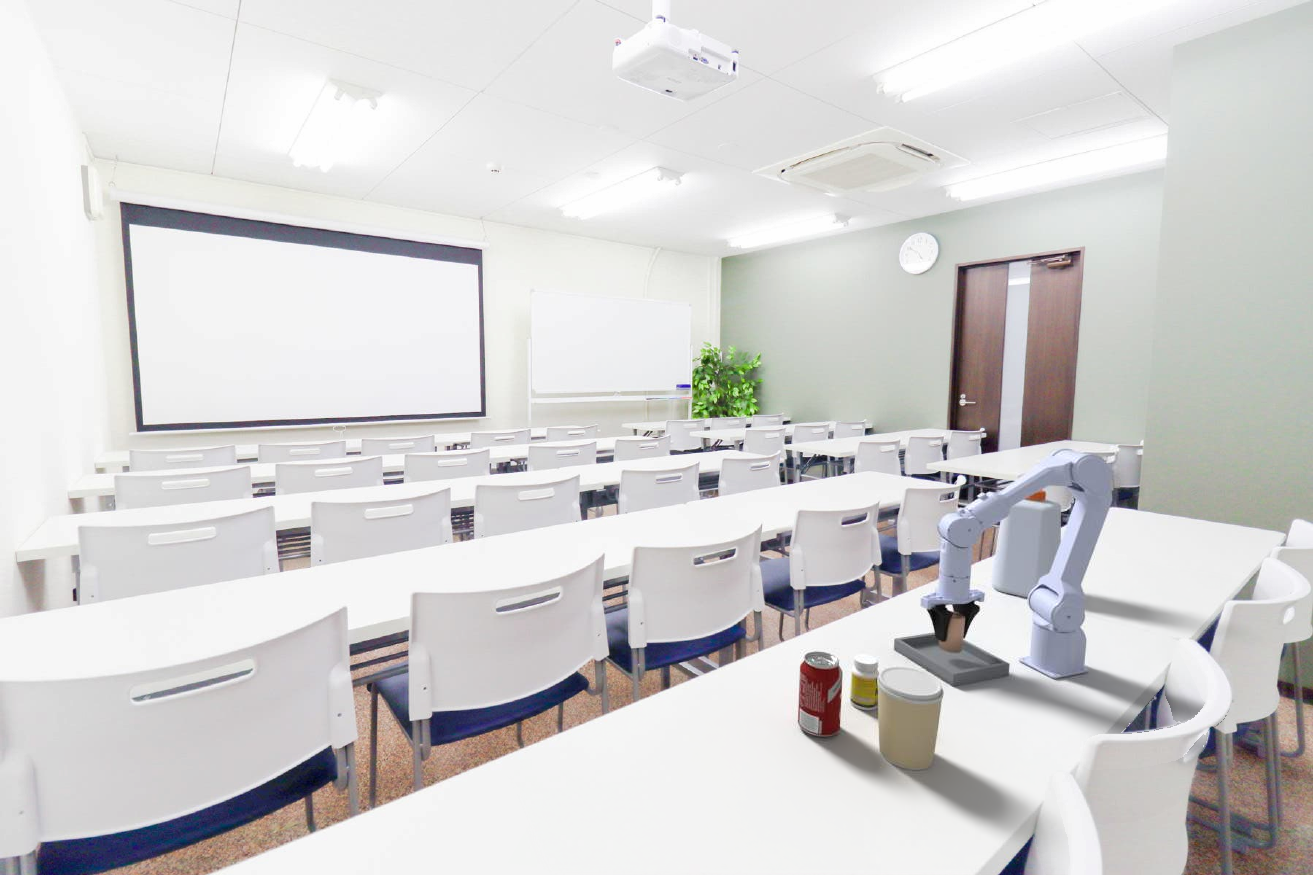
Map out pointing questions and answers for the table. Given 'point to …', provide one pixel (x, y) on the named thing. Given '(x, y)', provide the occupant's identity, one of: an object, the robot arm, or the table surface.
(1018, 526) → the plastic bottle
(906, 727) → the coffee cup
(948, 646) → the peach cylinder
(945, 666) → the tray
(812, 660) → the soda can
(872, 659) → the supplement bottle
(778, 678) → the table surface
